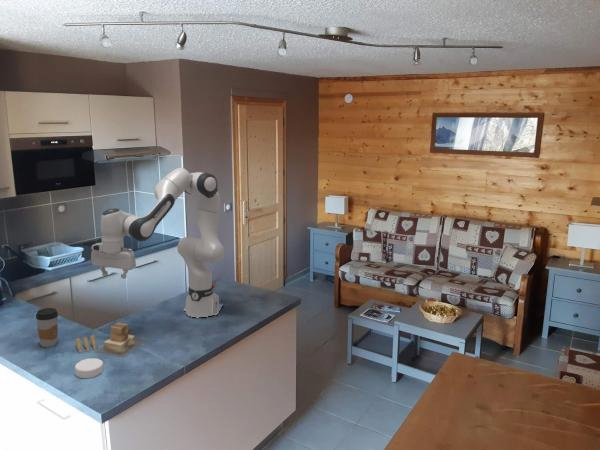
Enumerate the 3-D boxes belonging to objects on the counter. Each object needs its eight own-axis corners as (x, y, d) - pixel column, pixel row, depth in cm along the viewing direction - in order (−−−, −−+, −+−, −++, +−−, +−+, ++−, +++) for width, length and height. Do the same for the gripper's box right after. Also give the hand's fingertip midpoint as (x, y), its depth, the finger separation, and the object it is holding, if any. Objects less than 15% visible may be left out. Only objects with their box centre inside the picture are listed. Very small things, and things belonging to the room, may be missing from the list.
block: (122, 336, 218) (121, 327, 217) (130, 336, 218) (130, 328, 217) (118, 340, 214) (118, 331, 213) (127, 340, 214) (127, 332, 213)
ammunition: (75, 337, 206) (78, 344, 199) (93, 333, 210) (97, 341, 203) (75, 347, 207) (78, 355, 200) (94, 344, 211) (97, 351, 204)
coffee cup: (48, 350, 203) (46, 316, 200) (33, 346, 206) (30, 312, 203) (64, 342, 211) (62, 309, 208) (49, 338, 213) (47, 306, 210)
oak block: (118, 335, 209) (117, 322, 208) (128, 337, 208) (127, 324, 207) (110, 340, 204) (110, 327, 203) (121, 342, 203) (120, 328, 202)
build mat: (121, 336, 219) (121, 334, 219) (148, 341, 216) (148, 339, 215) (94, 353, 202) (94, 352, 202) (123, 359, 199) (123, 357, 198)
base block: (118, 341, 213) (118, 332, 212) (134, 344, 211) (134, 335, 210) (103, 351, 203) (103, 342, 202) (120, 354, 201) (120, 345, 200)
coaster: (89, 381, 182) (88, 372, 181) (69, 374, 185) (68, 366, 185) (109, 369, 191) (108, 361, 190) (89, 363, 194) (89, 355, 194)
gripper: (138, 247, 211) (139, 277, 214) (97, 242, 216) (99, 272, 219) (129, 250, 205) (130, 282, 208) (88, 245, 210) (89, 276, 213)
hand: (114, 276), depth 214 cm, fingers open, 8 cm apart
